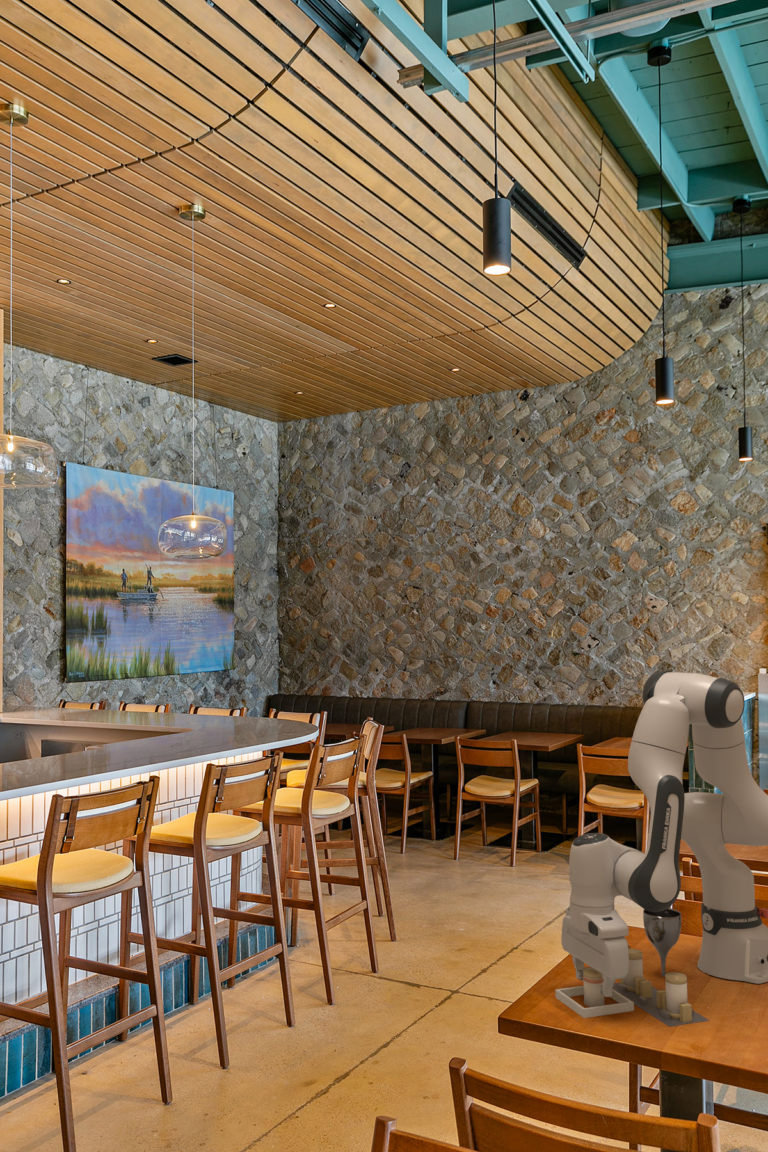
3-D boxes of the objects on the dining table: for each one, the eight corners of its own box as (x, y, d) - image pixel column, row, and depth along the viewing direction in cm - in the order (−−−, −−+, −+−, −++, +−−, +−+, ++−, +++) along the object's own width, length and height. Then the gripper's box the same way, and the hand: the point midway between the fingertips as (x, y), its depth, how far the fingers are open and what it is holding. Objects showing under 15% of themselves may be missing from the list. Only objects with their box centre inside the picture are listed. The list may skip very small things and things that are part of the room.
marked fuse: (580, 1006, 188) (579, 967, 189) (597, 1003, 190) (597, 965, 190) (590, 1013, 185) (589, 974, 185) (608, 1011, 186) (607, 972, 186)
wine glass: (642, 986, 200) (641, 915, 201) (646, 974, 208) (645, 905, 209) (681, 991, 197) (679, 919, 198) (684, 979, 205) (682, 909, 206)
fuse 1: (636, 984, 198) (635, 947, 198) (647, 991, 194) (646, 953, 194) (619, 986, 196) (618, 949, 197) (630, 993, 193) (629, 955, 193)
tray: (603, 998, 194) (603, 983, 194) (634, 1018, 183) (633, 1002, 184) (555, 1004, 191) (555, 989, 191) (583, 1025, 180) (583, 1009, 180)
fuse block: (641, 987, 200) (640, 965, 200) (710, 1028, 178) (709, 1004, 179) (604, 992, 197) (603, 970, 198) (669, 1034, 176) (669, 1010, 176)
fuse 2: (679, 1010, 183) (678, 971, 184) (692, 1018, 180) (691, 977, 180) (662, 1013, 182) (661, 973, 183) (674, 1020, 178) (673, 980, 179)
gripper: (553, 904, 197) (554, 972, 196) (605, 932, 178) (606, 1007, 177) (579, 901, 199) (581, 968, 198) (633, 929, 180) (635, 1003, 179)
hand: (593, 987), depth 187 cm, fingers open, 8 cm apart
